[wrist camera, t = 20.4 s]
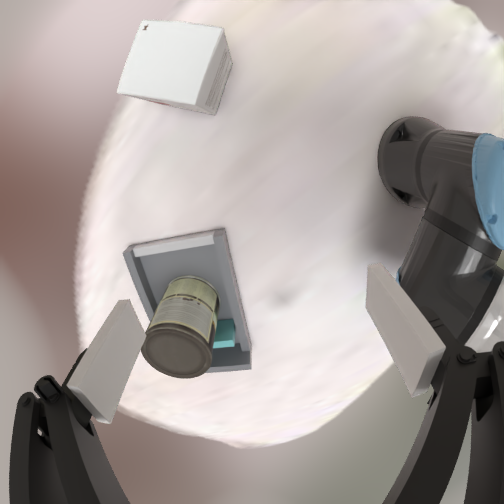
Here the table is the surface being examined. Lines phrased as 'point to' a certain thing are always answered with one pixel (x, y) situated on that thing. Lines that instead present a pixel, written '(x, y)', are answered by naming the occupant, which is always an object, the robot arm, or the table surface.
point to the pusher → (225, 334)
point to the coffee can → (183, 328)
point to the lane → (201, 265)
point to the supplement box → (177, 65)
